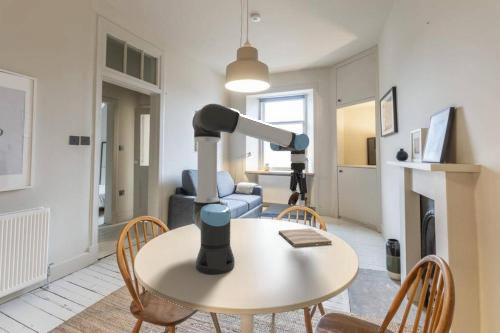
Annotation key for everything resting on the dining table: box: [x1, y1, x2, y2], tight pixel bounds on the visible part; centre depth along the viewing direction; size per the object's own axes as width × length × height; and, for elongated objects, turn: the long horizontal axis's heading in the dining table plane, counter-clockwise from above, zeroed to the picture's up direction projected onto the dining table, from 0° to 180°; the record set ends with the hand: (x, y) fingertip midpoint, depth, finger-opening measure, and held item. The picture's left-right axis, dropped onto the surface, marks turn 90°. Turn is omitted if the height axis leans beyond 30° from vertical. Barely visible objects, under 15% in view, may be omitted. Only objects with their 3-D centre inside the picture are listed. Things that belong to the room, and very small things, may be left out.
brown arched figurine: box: [287, 191, 309, 207], centre depth 125 cm, size 12×10×8 cm
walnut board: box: [278, 228, 332, 248], centre depth 128 cm, size 22×20×2 cm
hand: (297, 204), depth 126 cm, fingers closed on brown arched figurine, 9 cm apart
